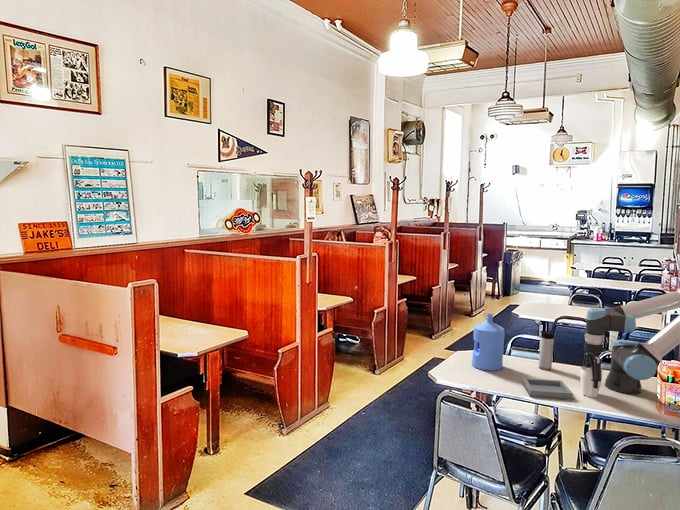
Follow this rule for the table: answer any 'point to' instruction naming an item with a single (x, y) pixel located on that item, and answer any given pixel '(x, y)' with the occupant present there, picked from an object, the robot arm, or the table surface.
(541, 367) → the travel mug
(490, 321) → the water jug
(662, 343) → the robot arm
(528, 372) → the table surface
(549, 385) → the tray
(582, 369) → the cup
